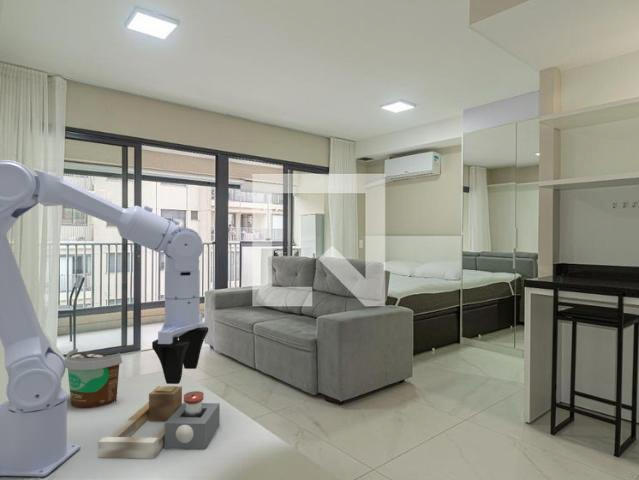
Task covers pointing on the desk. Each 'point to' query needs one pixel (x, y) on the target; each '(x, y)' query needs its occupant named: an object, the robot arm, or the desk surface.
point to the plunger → (194, 403)
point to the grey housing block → (192, 427)
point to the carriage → (164, 402)
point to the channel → (132, 439)
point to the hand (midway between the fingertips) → (182, 375)
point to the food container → (92, 378)
